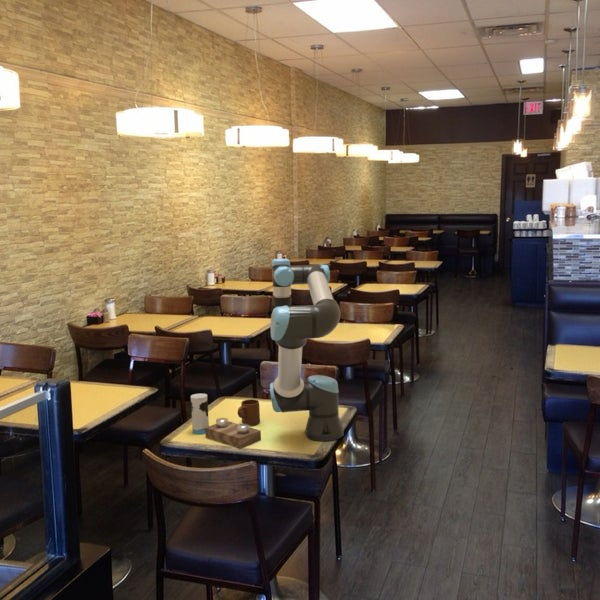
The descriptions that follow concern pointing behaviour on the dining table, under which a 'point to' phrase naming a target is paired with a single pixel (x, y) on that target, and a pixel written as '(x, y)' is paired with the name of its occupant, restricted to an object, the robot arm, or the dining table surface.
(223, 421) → the far knob
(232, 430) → the mount block
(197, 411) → the cup
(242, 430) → the near knob
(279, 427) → the dining table surface
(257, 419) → the mug
